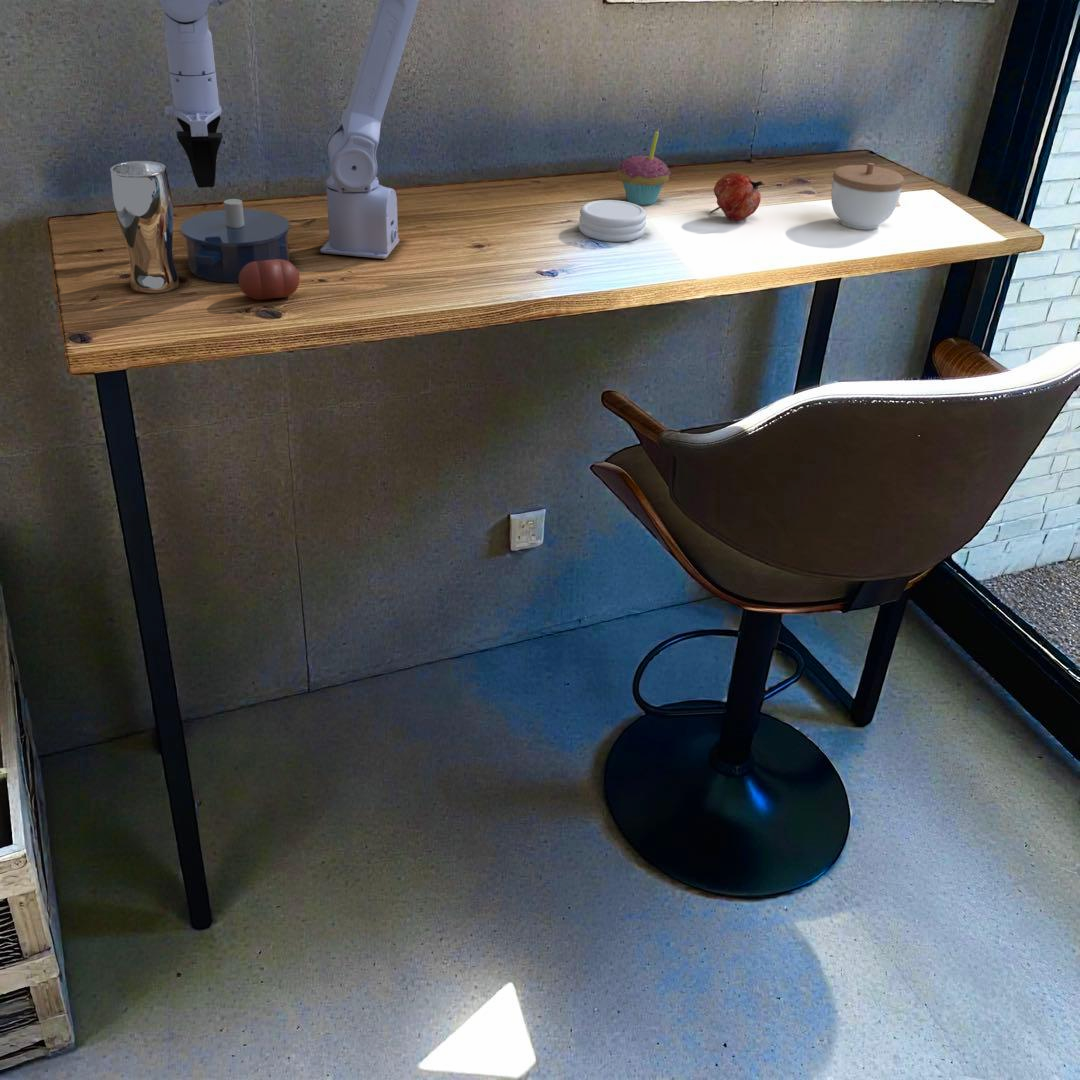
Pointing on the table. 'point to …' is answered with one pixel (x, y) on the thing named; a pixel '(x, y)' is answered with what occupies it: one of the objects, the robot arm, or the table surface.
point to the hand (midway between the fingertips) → (205, 178)
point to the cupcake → (643, 176)
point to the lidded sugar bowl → (865, 195)
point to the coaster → (612, 220)
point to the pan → (231, 258)
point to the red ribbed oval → (268, 279)
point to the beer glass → (146, 223)
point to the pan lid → (235, 226)
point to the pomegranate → (737, 196)
